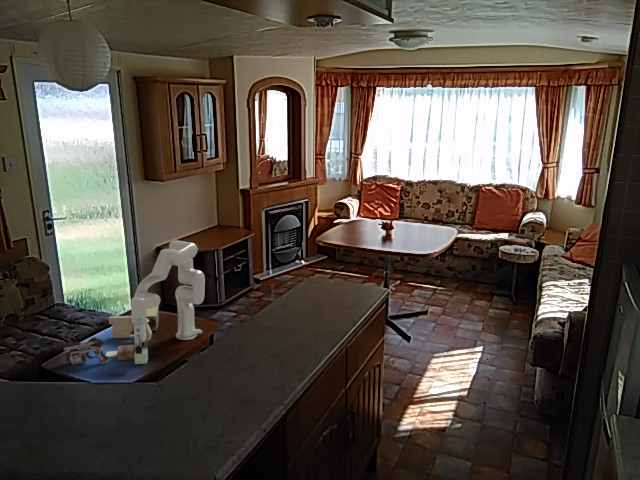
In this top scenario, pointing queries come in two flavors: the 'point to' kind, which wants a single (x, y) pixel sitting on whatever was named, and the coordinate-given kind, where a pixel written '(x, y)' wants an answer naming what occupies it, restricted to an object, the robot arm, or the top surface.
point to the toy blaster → (85, 351)
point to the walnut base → (125, 352)
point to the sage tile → (111, 354)
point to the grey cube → (142, 346)
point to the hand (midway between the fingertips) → (140, 349)
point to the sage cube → (141, 357)
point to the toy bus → (153, 317)
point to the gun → (125, 327)
